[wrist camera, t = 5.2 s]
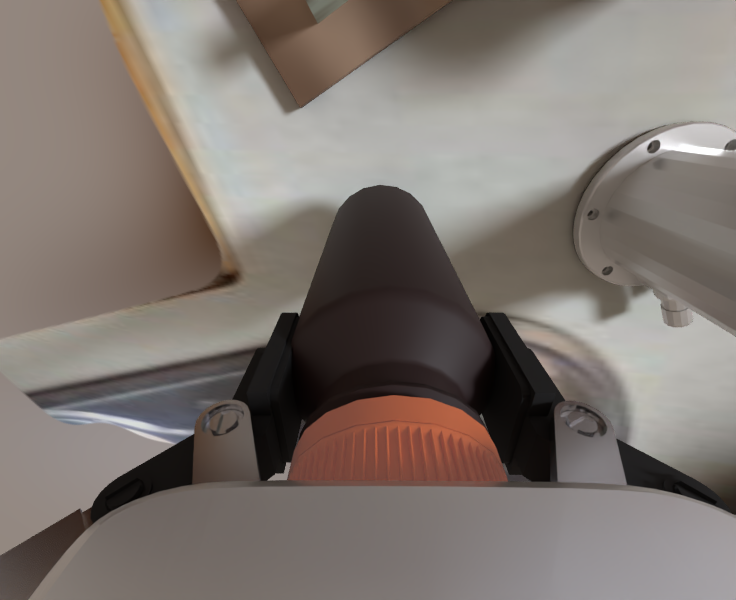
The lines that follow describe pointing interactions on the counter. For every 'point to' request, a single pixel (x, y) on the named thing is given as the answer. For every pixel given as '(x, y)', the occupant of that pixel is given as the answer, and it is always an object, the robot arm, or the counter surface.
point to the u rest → (329, 36)
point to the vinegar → (390, 354)
